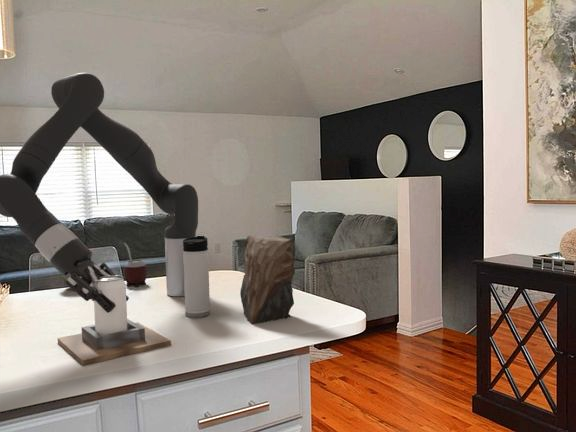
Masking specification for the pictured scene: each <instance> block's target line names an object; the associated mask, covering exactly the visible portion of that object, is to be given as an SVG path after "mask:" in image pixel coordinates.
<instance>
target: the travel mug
mask: <svg viewBox="0 0 576 432" xmlns="http://www.w3.org/2000/svg"><path fill="white" fill-rule="evenodd" d="M208 243H209V242H208V238H207V237H205V235H196V237H192V238H187V239H184V240H183V247H184V248H183V262H184V289H185V296H184V311H185V312H184V313H185V316H186V317H187V318H194V319H195V318H196V319H197V318H199V319H200V318H204V317H207V316H209V315H210V314H211V303H210V301H211V300H210V299H211V298H210V276H209V275H210V272H209V265H210V264H209V248H208Z"/></svg>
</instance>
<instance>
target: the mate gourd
mask: <svg viewBox="0 0 576 432" xmlns="http://www.w3.org/2000/svg"><path fill="white" fill-rule="evenodd" d="M123 245H124V246H125V248H126V251H127V252H128V257H129V258H128V259H129V260H128V261H126V263H125V264H124V278H125V281H126V282H125V284H126V287H132V286H134V287H135V288H138V287H139V286H142V285H146V284H147V282H146V280H147V273H148V272H147V271H148V270H147V265H146V262H145V261H144V260H143V259H132V254H131V249H130V247H129V246H128V244H127V243H126V242H123Z"/></svg>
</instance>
